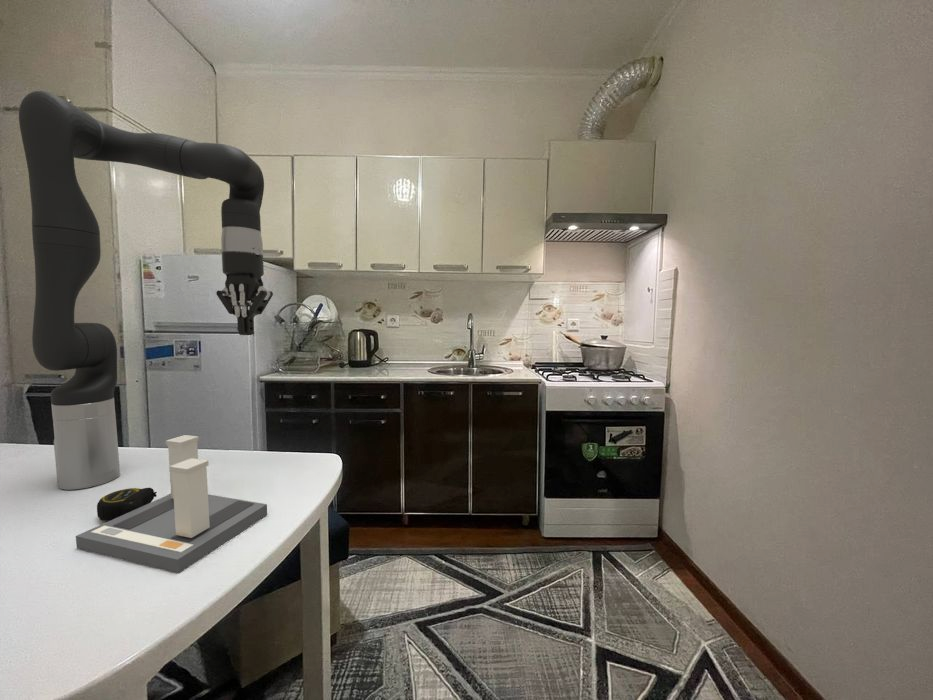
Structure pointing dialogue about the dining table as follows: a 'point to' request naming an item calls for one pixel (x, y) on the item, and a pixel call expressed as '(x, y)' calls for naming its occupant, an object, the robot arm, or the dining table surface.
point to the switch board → (169, 533)
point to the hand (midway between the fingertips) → (246, 334)
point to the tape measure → (123, 502)
